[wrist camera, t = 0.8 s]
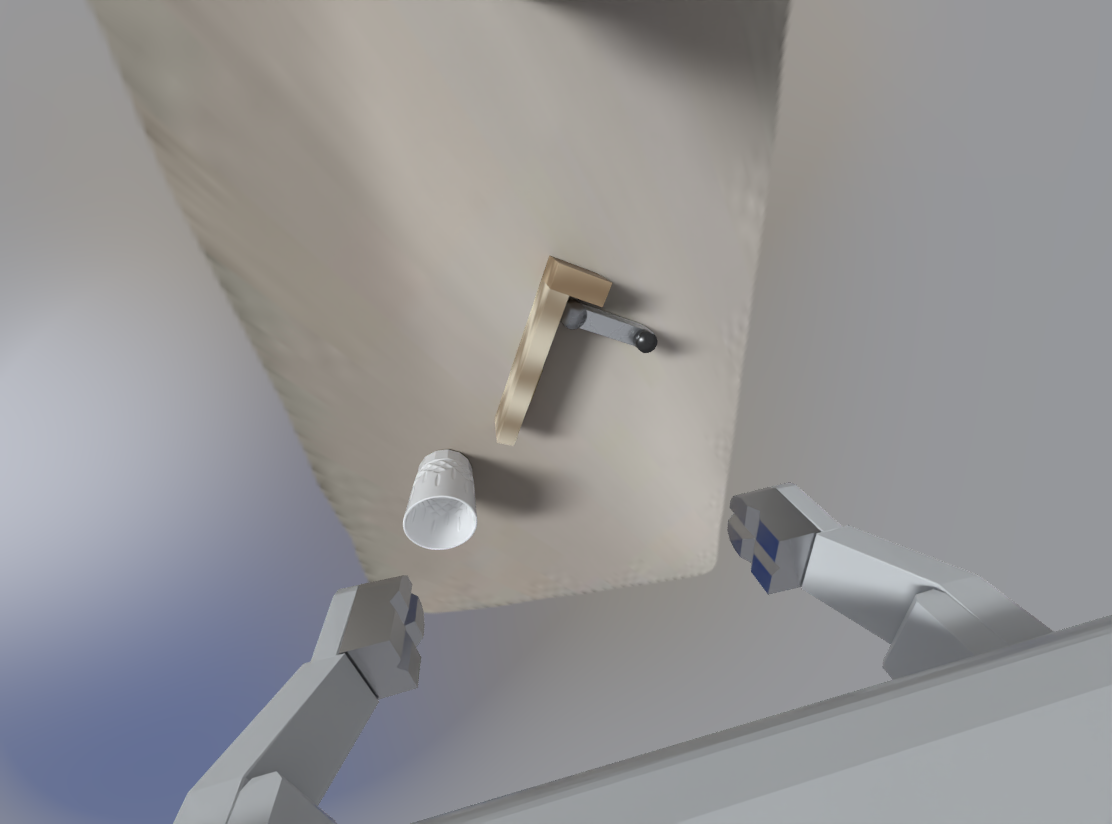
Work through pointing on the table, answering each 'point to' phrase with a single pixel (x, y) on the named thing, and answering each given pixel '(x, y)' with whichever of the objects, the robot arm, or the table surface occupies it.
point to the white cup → (442, 502)
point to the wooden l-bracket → (543, 338)
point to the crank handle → (607, 325)
